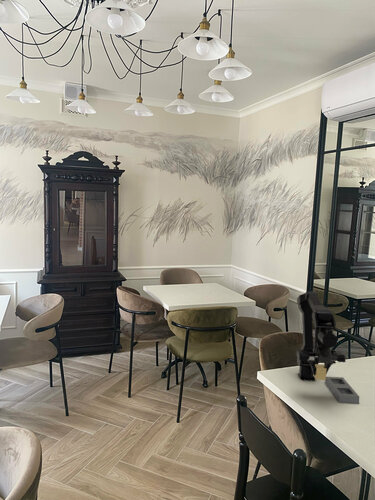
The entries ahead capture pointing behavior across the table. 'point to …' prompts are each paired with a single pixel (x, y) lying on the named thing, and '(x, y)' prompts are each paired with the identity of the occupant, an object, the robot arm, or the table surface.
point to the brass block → (320, 372)
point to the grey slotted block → (342, 390)
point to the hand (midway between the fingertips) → (319, 375)
